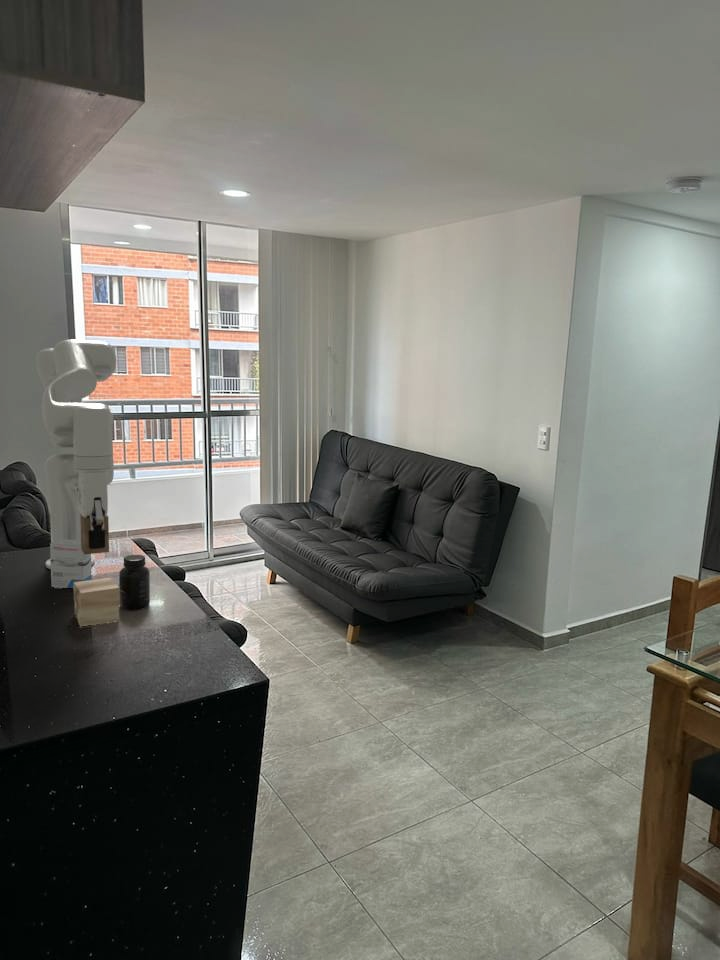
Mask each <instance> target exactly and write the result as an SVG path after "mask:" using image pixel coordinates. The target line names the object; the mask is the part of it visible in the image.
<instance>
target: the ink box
mask: <svg viewBox="0 0 720 960" xmlns="http://www.w3.org/2000/svg"><path fill="white" fill-rule="evenodd" d="M49 550H50V551H49V554H50V558H49V559H51V569H50V582H51V585H50V586H51V587H50V588H52V587H54V588H53V589H62V588H73V589H72V590H74V584H73V582H80V581H88V580H93V579H92V566H91V557H92V554H84V553H83V551H82V549H81V540H68V539H59V540H57V541H54V542H52V543H51V542H50V543H49Z"/></svg>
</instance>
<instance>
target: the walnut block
mask: <svg viewBox="0 0 720 960" xmlns="http://www.w3.org/2000/svg"><path fill="white" fill-rule="evenodd" d="M92 516H95V514H92ZM94 520H95V519H93V522H94ZM80 524H81V549H82V551H83V553H84V554H91V555H94V554H105V553H110V535H109V534H110V533H109V532H110V531H109V515H108V514H107V515H106V516H105V517H104V529H105V547H104V548H97V549H90V548H89V531H90V519H89V516H87V518H84V517H83V516H82V515H81V514H80Z"/></svg>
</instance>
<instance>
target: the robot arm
mask: <svg viewBox="0 0 720 960" xmlns="http://www.w3.org/2000/svg"><path fill="white" fill-rule="evenodd" d="M116 367H117V356H116V353H115V350H114V348H113V347H112V345H111V344H110V343H109V342H106V341H103V340H89V339H72V338H71V339H64V340H61V341H59V342H57V344H55V346H54V347H49V348H44V349H42V350H39V351H38V352H37V354H36V368H37V369H36V370H37V373H38V377H39V379H40V381H41V384H42V385H43V388H44V390H43V393H42V396H41V397H42V398H41V413H42V419H43V425H44V428H45V430H46V432H47V433H48V434H49V439H50V442H51V445H53V446H54V447H56V448H59V449H73V452H65V453H57V454H53V455H51V456H49V457H48V458H47V459H46V461H45V464H44V473H45V479H46V483H47V490H48V498H49V500H48V501H49V515H50V516H49V519H50V543H52V542H54V541H57V540H59V539H68V540H81V524H80V514H81V515H82V516H83V517H84V518H87V516H89V519H90V531H89V548H90V549H97V548H104V547H105V529H104V517H105V516H106V515H107V516H108V511H109V509H108V508H109V507H108V506H109V505H108V504H109V503H108V502H109V501H108V485H109V486H110V485H111V483H112V482H113V479H114V473H115V471H114V469H115V468H114V466H115V465H114V464H115V463H114V443H113V442H114V441H113V427H114V413H113V411H112V410H111V408H110V407H109V406H108V405H107V404H104V403H99V402H83V399H85V398H86V397H88V396H90V395H92V394H93V392H95V390H96V388H97V386H98V383H99V382H101V383H102V382H105V381H106V380H108V379H110V377H111V376H112V375H113V374H114V373H115V371H116ZM92 514H95V516H92ZM93 519H95V520H94V522H93ZM95 561H96V559H95V558H94V557H93V556H91V567H92V566H94V564H95V563H96V562H95ZM45 567H46V568H47V569H49V570H51V558H49V559H47V560H46V561H45Z"/></svg>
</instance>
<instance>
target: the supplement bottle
mask: <svg viewBox="0 0 720 960" xmlns="http://www.w3.org/2000/svg"><path fill="white" fill-rule="evenodd" d="M150 573H151V572H150V570H149V568H148V567H146V557H145V556H144V555H141V554H129V555H126V556H124V557H123V567H122V568H121V569H120V570H119V573H118V574H119V575H118V577H119V581H118V582H119V585H118V587H119V592H120V605H119V608H121V609H122V608H123V610H125V609H127V610H126V611H139V609H140V610H143V608H144V609H146V608H148V607H149V605H150V600H151V598H150V597H151V596H150V595H151V594H150V593H151V592H150V591H151V587H150V586H151V585H150V584H151V581H150V580H151V579H150V575H151V574H150Z"/></svg>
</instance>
